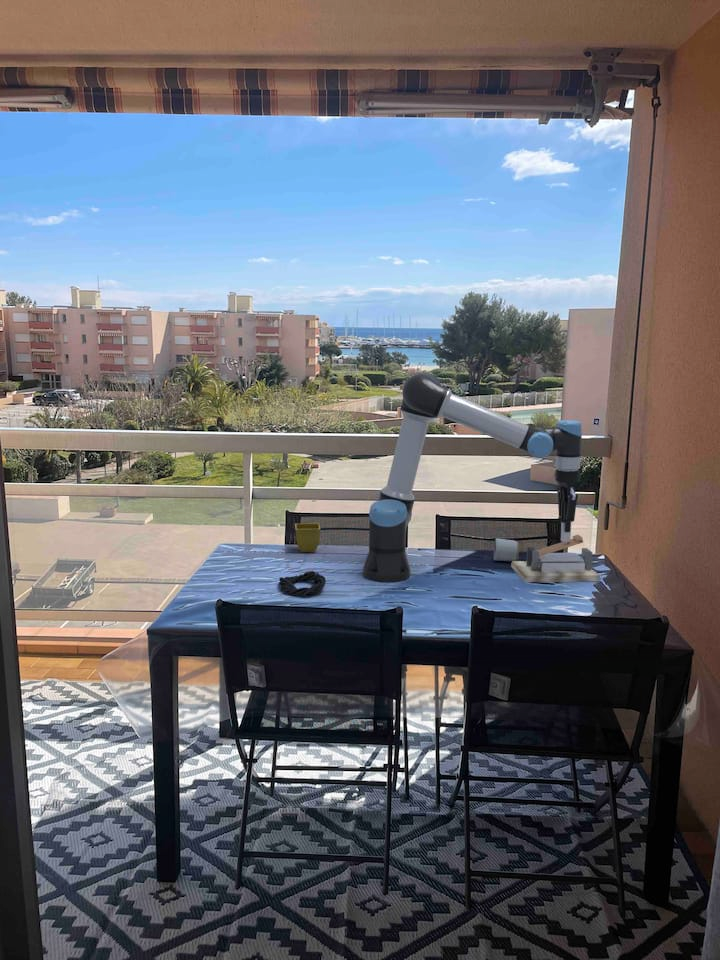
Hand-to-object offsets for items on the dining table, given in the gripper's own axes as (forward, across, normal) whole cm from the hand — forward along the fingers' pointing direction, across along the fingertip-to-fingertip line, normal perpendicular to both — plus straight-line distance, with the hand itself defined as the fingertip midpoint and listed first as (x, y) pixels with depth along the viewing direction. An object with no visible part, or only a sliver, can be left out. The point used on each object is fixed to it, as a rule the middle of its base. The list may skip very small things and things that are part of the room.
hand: (565, 541), depth 243 cm
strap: (+3, 0, +3) cm, 4 cm away
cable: (+9, -13, +85) cm, 87 cm away
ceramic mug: (+11, +17, +15) cm, 25 cm away
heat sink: (+9, 0, +2) cm, 9 cm away
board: (+11, 0, +3) cm, 12 cm away
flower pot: (+8, +29, +83) cm, 89 cm away
